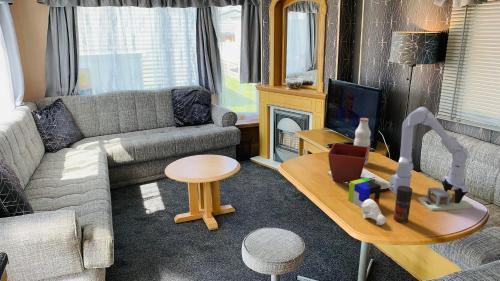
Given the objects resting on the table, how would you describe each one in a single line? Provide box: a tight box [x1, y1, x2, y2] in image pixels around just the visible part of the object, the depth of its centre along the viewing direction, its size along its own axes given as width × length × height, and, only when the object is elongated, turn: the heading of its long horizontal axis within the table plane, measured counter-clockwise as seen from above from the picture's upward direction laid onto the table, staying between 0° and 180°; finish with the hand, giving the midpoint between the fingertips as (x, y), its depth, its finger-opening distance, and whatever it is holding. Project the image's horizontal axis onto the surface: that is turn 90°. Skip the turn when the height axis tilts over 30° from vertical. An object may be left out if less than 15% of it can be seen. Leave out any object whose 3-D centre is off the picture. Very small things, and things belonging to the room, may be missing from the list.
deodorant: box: [393, 186, 413, 224], centre depth 161 cm, size 6×6×15 cm
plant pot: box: [328, 143, 370, 184], centre depth 203 cm, size 19×19×17 cm
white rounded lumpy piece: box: [361, 199, 387, 226], centre depth 161 cm, size 6×8×12 cm
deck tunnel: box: [417, 186, 474, 212], centre depth 176 cm, size 21×11×7 cm, turn 99°
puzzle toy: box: [347, 177, 382, 209], centre depth 177 cm, size 10×10×10 cm
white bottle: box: [353, 117, 372, 166], centre depth 224 cm, size 9×9×28 cm
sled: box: [429, 189, 455, 204], centre depth 176 cm, size 12×4×5 cm, turn 99°
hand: (452, 199), depth 177 cm, fingers open, 7 cm apart
